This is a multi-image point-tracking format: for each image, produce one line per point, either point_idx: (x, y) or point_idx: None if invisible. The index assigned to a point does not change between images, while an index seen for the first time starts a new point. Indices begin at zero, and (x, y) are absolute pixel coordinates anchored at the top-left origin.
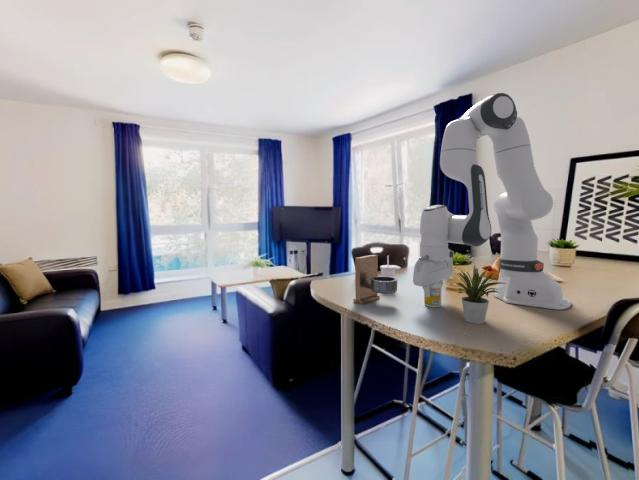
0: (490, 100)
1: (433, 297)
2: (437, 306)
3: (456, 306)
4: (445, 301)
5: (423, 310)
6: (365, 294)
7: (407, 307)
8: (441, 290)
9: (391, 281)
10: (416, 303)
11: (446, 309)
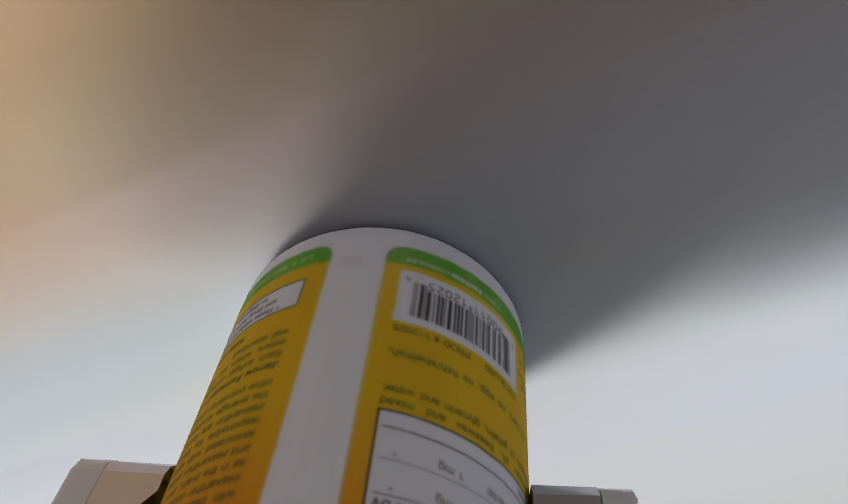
0: None
1: (504, 434)
2: (445, 248)
3: (69, 12)
4: (14, 278)
5: (777, 318)
6: None
7: (746, 488)
8: (226, 501)
9: None
10: None
11: (438, 71)
